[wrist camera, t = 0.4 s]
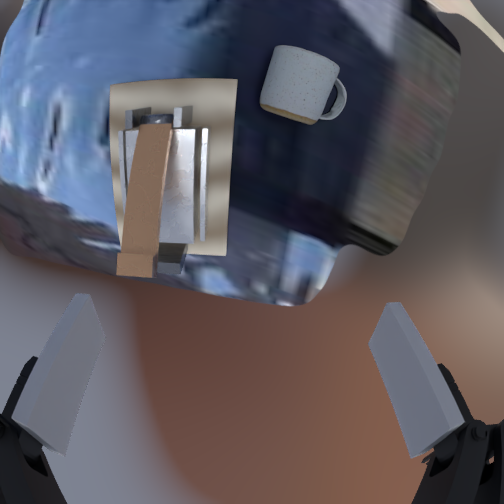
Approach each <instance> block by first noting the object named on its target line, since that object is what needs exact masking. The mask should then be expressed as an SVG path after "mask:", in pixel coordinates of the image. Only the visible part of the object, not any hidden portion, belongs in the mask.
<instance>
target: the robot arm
mask: <svg viewBox="0 0 504 504" xmlns="http://www.w3.org/2000/svg"><path fill="white" fill-rule="evenodd" d="M105 339H106V337H105V335H104V332H103V329H102V327H101V324H100V322H99V319H98V316H97V313H96V311H95V308H94V305H93V302H92V299H91V296H90V295H89V294H80V293H76V294H75V296H74V297H73V299H72V301H71V302H70V304H69V305H68V307H67V309H66V310H65V312H64V313H63V315H62V317H61V319H60V320H59V322H58V323H57V325H56V327H55V329H54V330H53V332H52V334H51V336H50V337H49V339H48V341H47V343H46V345H45V347H44V349H43V350H42V352H41V354H40V356H39V358H37V357H34V356H33V357H32V358H31V359H30V360H29V361H28V362H27V363H26V364H25V365H24V367H23V369H22V371H21V373H20V376H19V377H18V379H17V381H16V384H15V386H14V388H13V390H12V392H11V394H10V397H9V399H8V401H7V403H6V406H5V408H4V410H3V412H2V414H0V504H67V502H66V500H65V498H64V496H63V494H62V493H61V490H60V489H59V486H58V484H57V482H56V480H55V478H54V475H53V473H52V471H51V469H50V466H49V464H48V461H47V459H46V456H45V454H44V452H43V451H42V446H43V445H44V446H45V447H46V448H47V449H49V450H50V451H52V452H55V453H57V454H60V455H62V456H65V455H66V451H67V447H68V444H69V440H70V437H71V433H72V430H73V427H74V423H75V420H76V417H77V414H78V411H79V408H80V405H81V402H82V399H83V396H84V393H85V390H86V387H87V385H88V382H89V379H90V376H91V374H92V371H93V368H94V366H95V363H96V361H97V358H98V356H99V353H100V351H101V348H102V346H103V343H104V341H105ZM368 345H369V347H370V350H371V352H372V354H373V357H374V359H375V362H376V364H377V366H378V369H379V371H380V374H381V376H382V379H383V381H384V384H385V387H386V389H387V392H388V394H389V397H390V400H391V402H392V405H393V408H394V410H395V413H396V416H397V419H398V421H399V424H400V427H401V430H402V433H403V436H404V439H405V442H406V445H407V448H408V451H409V454H410V458H413V457H416V456H419V455H421V454H424V453H426V452H427V451H429V450H430V449H431V448H434V452H432V453H431V454H429V455H428V456H426V457H425V458H424V459H423V461H422V463H425V462H426V461H428V460H429V459H430V460H429V462H427V463H426V464H427V465H428V466H427V468H426V471H425V474H424V476H423V479H422V481H421V483H420V486H419V488H418V490H417V493H416V495H415V497H414V499H413V501H412V504H504V419H503V420H502V421H501V422H500V423H499V424H493V425H486V424H485V423H484V422H482V421H481V420H474V419H473V417H472V415H471V413H470V411H469V409H468V407H467V405H466V402H465V400H464V398H463V396H462V395H461V392H460V391H459V390H458V386H457V384H456V383H454V381H455V380H454V379H453V377H452V375H451V373H450V371H449V370H448V369H447V368H446V367H445V366H444V365H443V364H442V363H441V364H436V362H435V360H434V359H433V357H432V355H431V353H430V351H429V349H428V348H427V346H426V344H425V342H424V341H423V339H422V338H421V336H420V334H419V332H418V330H417V329H416V327H415V325H414V324H413V322H412V321H411V319H410V317H409V316H408V314H407V312H406V311H405V309H404V308H403V306H402V304H401V303H400V302H394V303H387V304H386V306H385V308H384V311H383V313H382V315H381V318H380V320H379V322H378V324H377V326H376V329H375V331H374V333H373V335H372V337H371V339H370V341H369V343H368ZM493 456H494V462H493V463H491V464H490V463H489V459H490V458H492V457H493Z"/></svg>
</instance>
